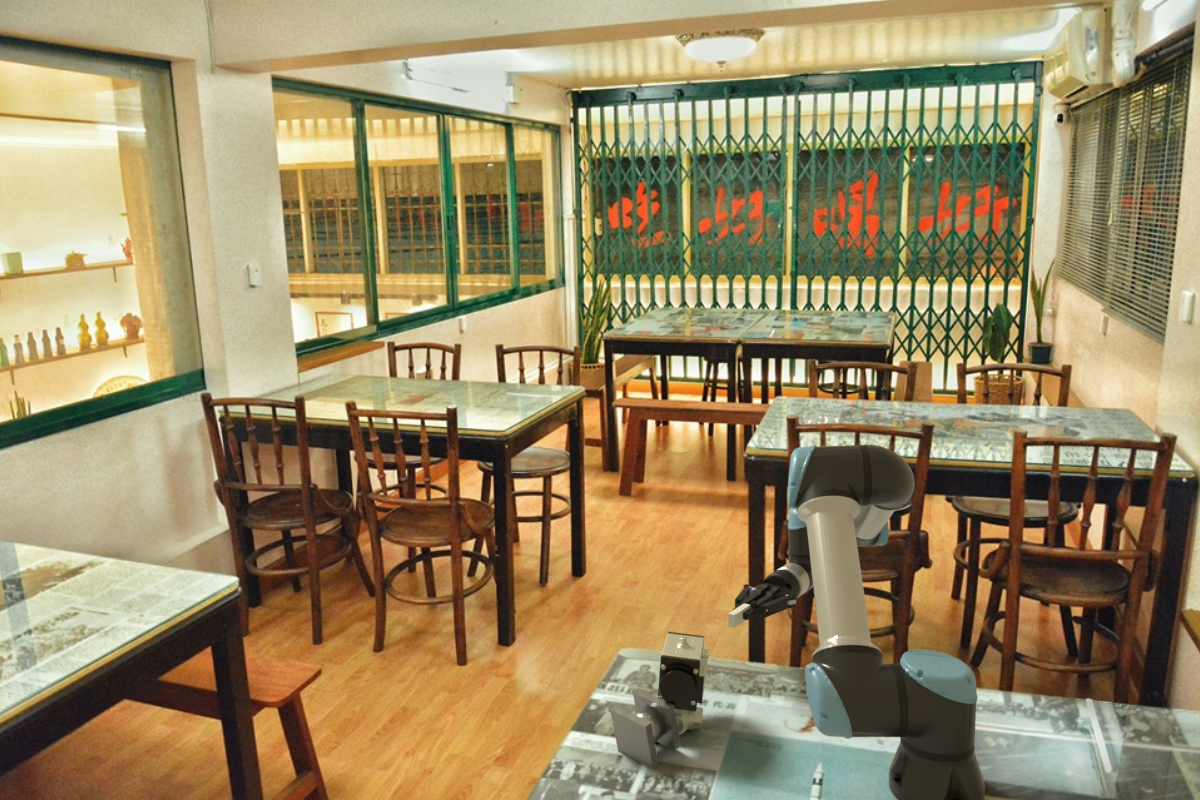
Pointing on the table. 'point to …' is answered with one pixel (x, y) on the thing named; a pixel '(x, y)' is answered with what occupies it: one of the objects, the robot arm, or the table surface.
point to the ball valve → (684, 677)
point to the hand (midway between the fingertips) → (731, 620)
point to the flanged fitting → (645, 728)
